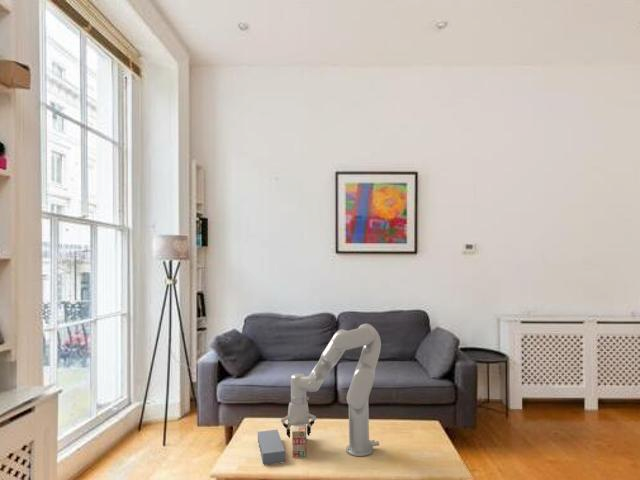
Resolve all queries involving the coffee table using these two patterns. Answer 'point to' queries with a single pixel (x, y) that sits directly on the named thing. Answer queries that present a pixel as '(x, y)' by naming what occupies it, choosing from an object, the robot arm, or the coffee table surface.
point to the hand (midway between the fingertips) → (298, 435)
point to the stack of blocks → (299, 440)
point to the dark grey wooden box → (271, 447)
